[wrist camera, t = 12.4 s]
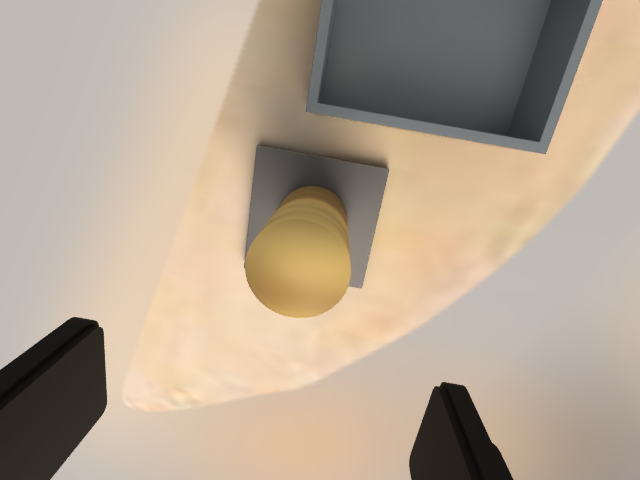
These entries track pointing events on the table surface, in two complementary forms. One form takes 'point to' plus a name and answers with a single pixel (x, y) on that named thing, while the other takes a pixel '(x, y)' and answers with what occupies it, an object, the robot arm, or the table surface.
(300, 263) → the mustard cylinder
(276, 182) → the gray square plate
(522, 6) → the slate open box
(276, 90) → the table surface
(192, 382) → the table surface
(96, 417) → the robot arm
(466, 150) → the table surface
